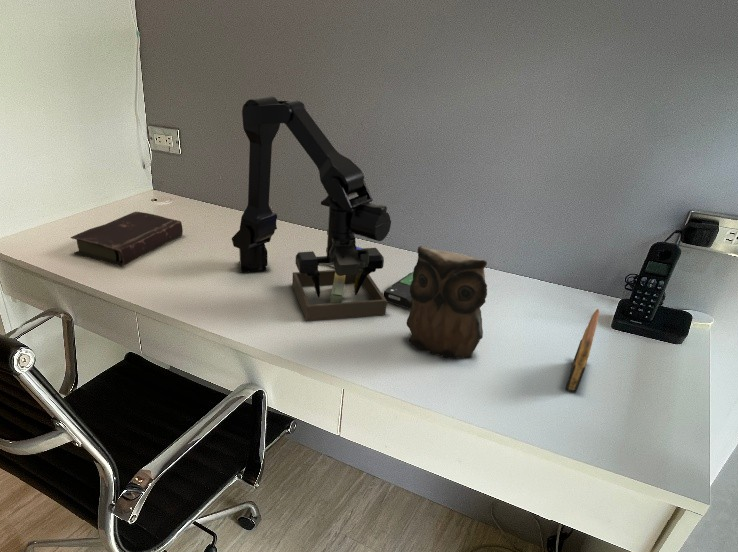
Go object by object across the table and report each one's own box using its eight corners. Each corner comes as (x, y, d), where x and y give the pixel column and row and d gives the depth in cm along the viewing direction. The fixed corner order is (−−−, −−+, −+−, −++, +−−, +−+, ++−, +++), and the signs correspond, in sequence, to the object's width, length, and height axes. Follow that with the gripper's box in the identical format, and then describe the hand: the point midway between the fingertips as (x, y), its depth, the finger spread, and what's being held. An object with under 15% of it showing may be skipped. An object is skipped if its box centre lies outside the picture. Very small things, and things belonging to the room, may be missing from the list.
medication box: (339, 312, 126) (343, 296, 123) (327, 310, 126) (330, 294, 123) (343, 287, 135) (346, 272, 133) (331, 286, 135) (334, 270, 133)
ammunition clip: (573, 361, 109) (593, 305, 102) (583, 364, 108) (604, 308, 101) (564, 389, 101) (585, 331, 95) (576, 392, 101) (598, 334, 94)
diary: (184, 237, 163) (182, 220, 160) (124, 268, 145) (121, 249, 142) (134, 226, 171) (132, 209, 168) (72, 254, 153) (68, 236, 150)
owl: (479, 360, 109) (503, 263, 98) (415, 364, 108) (431, 266, 97) (456, 328, 120) (475, 236, 108) (397, 331, 119) (410, 239, 107)
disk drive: (423, 315, 125) (452, 290, 134) (425, 303, 123) (454, 280, 132) (381, 301, 130) (412, 279, 139) (383, 290, 128) (413, 268, 138)
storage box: (306, 321, 122) (307, 306, 120) (292, 285, 137) (292, 272, 135) (385, 315, 124) (387, 300, 122) (363, 281, 139) (364, 267, 137)
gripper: (305, 245, 113) (303, 315, 122) (395, 240, 115) (387, 309, 124) (295, 226, 122) (294, 292, 131) (379, 221, 124) (372, 287, 133)
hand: (336, 295), depth 130 cm, fingers open, 8 cm apart
